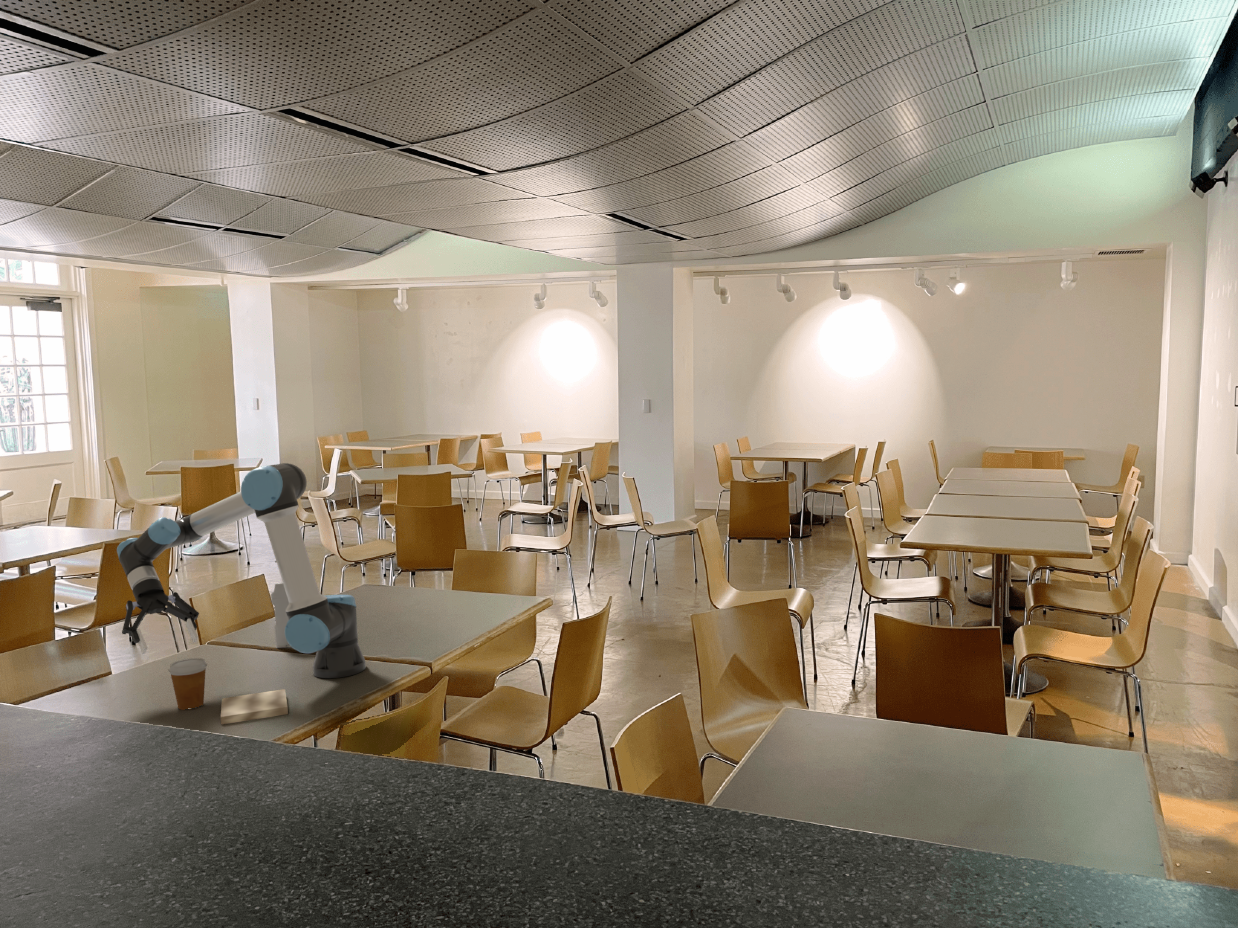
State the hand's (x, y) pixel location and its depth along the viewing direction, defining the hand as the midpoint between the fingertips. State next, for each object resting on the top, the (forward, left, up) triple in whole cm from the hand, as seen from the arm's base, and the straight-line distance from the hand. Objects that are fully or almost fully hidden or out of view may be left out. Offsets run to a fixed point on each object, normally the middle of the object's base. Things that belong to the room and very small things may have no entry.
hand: (170, 645), depth 255 cm
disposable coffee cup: (-5, +10, -15) cm, 19 cm away
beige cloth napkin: (-21, +22, -15) cm, 33 cm away
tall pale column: (-33, -41, -15) cm, 55 cm away
